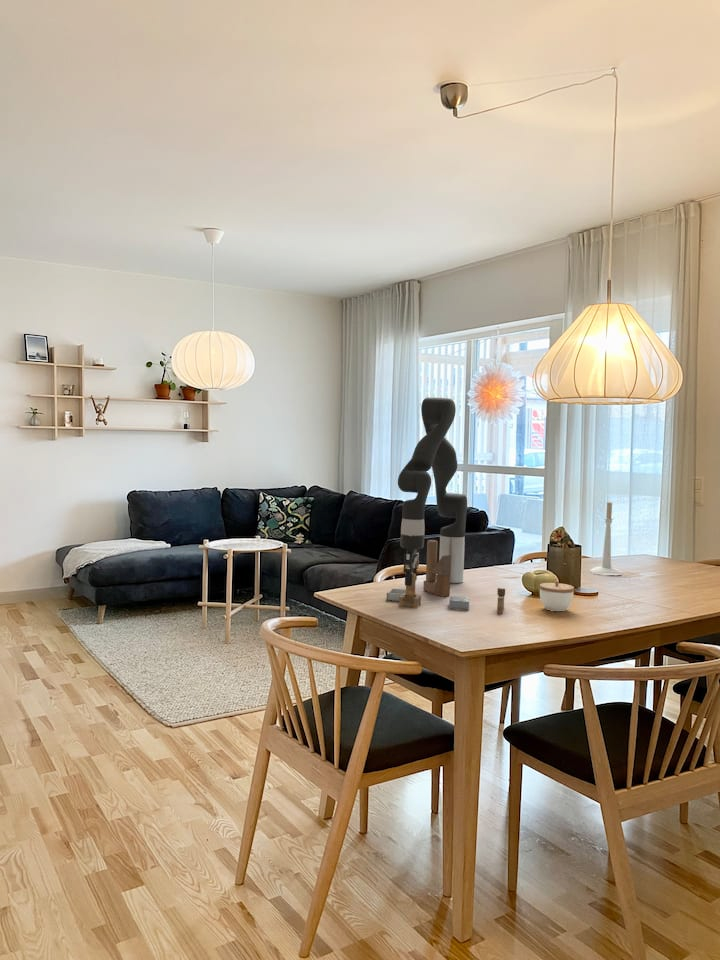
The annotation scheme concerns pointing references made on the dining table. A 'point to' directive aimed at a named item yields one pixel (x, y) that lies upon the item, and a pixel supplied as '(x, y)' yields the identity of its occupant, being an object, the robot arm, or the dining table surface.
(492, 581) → the dining table surface
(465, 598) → the grey rectangular block
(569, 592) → the lidded jar
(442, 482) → the robot arm
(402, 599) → the socket block
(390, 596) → the tray
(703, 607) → the dining table surface
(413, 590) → the dowel
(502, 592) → the block
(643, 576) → the dining table surface
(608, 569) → the candlestick
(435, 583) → the tan angled wooden part
